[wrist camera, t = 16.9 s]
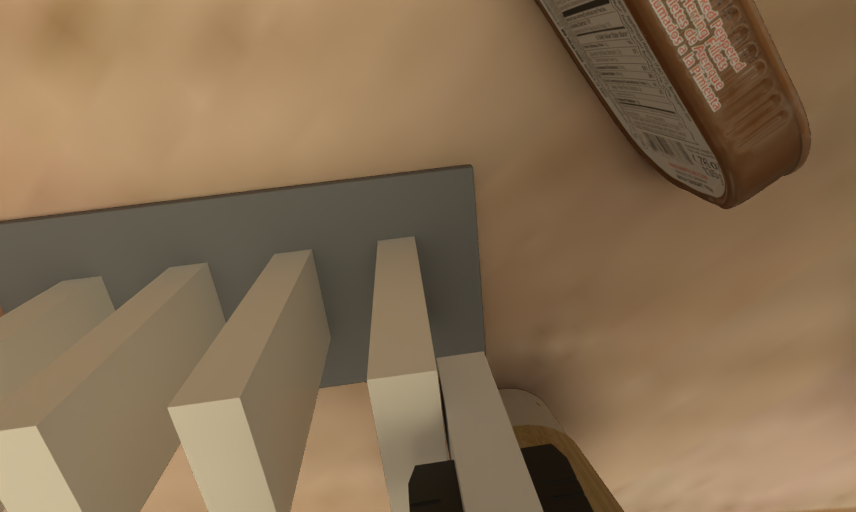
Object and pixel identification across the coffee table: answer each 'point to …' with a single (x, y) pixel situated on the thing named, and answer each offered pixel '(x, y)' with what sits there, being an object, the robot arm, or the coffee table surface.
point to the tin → (691, 89)
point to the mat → (275, 251)
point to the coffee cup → (554, 443)
